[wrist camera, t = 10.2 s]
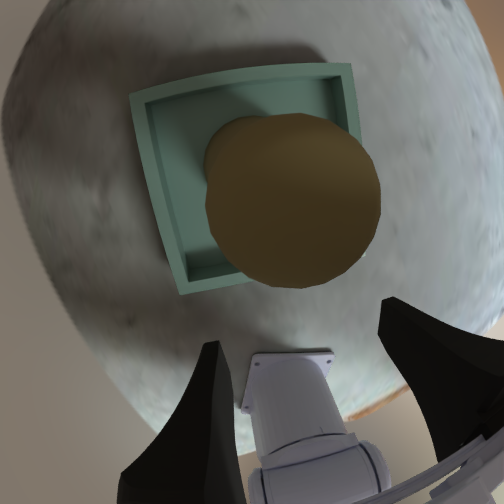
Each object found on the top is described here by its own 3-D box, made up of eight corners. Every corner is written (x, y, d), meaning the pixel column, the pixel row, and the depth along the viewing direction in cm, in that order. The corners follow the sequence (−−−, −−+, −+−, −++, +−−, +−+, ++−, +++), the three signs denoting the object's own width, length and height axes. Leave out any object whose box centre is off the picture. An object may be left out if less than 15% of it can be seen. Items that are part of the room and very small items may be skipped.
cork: (204, 213, 17) (195, 329, 8) (202, 116, 15) (179, 88, 5) (299, 210, 18) (390, 309, 8) (303, 117, 16) (423, 113, 6)
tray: (350, 242, 21) (365, 256, 18) (182, 276, 20) (179, 295, 18) (334, 70, 15) (350, 63, 13) (139, 98, 15) (128, 93, 12)
